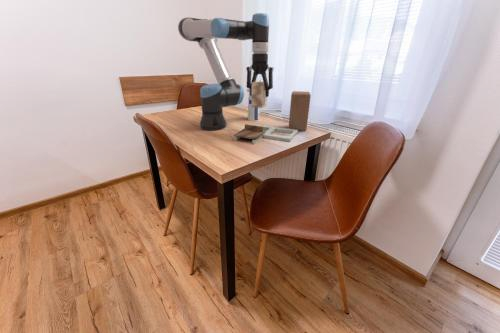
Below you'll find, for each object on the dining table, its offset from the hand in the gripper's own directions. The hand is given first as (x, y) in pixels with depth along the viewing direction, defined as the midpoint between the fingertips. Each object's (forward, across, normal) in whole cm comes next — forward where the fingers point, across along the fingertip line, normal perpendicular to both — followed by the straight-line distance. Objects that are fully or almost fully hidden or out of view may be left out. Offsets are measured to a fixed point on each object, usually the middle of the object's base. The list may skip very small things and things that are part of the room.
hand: (259, 102), depth 114 cm
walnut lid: (+14, 0, -11) cm, 18 cm away
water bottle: (+16, -14, +25) cm, 32 cm away
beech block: (+2, 0, 0) cm, 2 cm away
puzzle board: (+16, +7, -5) cm, 18 cm away
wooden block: (+16, +18, +16) cm, 29 cm away
